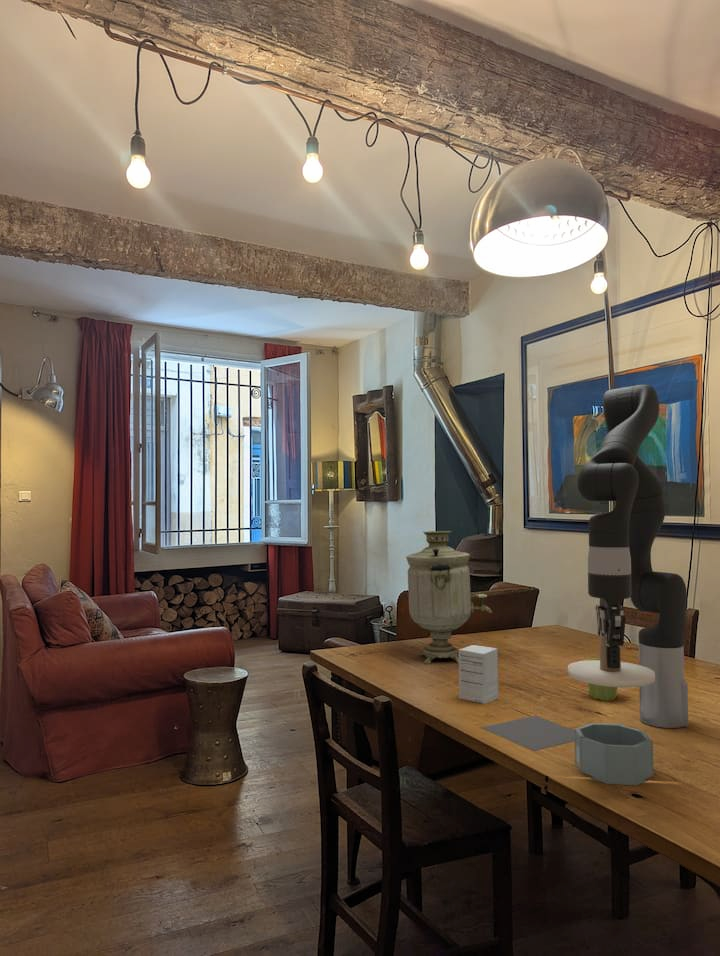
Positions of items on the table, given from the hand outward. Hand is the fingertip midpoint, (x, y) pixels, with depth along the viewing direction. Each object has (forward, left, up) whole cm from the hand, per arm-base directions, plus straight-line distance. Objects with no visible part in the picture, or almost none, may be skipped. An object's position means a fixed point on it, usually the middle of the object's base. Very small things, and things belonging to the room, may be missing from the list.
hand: (610, 664), depth 124 cm
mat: (+12, -18, -19) cm, 29 cm away
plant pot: (-8, -48, -19) cm, 52 cm away
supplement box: (+23, -42, -19) cm, 52 cm away
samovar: (+31, -84, -19) cm, 91 cm away
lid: (0, 0, -2) cm, 2 cm away
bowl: (0, 0, -19) cm, 19 cm away
